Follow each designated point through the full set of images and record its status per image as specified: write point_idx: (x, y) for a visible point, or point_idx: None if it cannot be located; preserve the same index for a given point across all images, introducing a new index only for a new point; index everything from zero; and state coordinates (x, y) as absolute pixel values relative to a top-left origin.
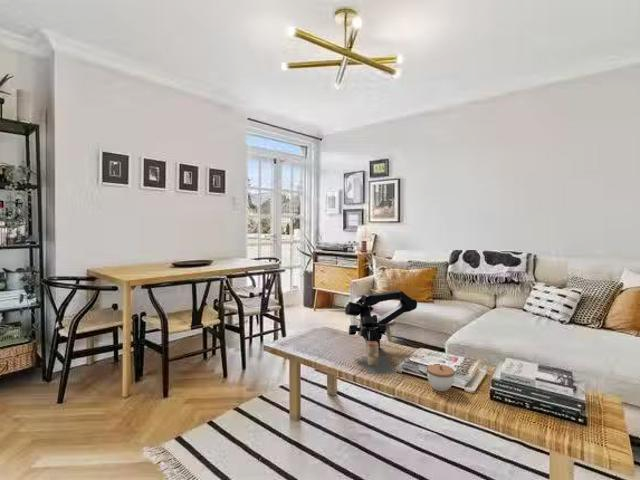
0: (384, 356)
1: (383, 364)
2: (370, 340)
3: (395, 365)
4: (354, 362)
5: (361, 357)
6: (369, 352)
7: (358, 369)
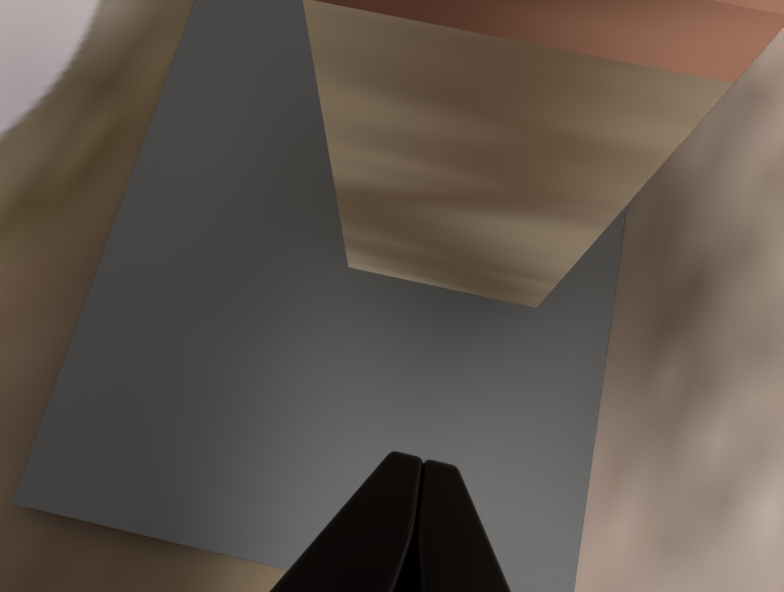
0: (34, 465)
1: (280, 104)
2: (346, 564)
3: (77, 69)
4: (773, 390)
5: (572, 560)
6: None
7: (772, 89)
